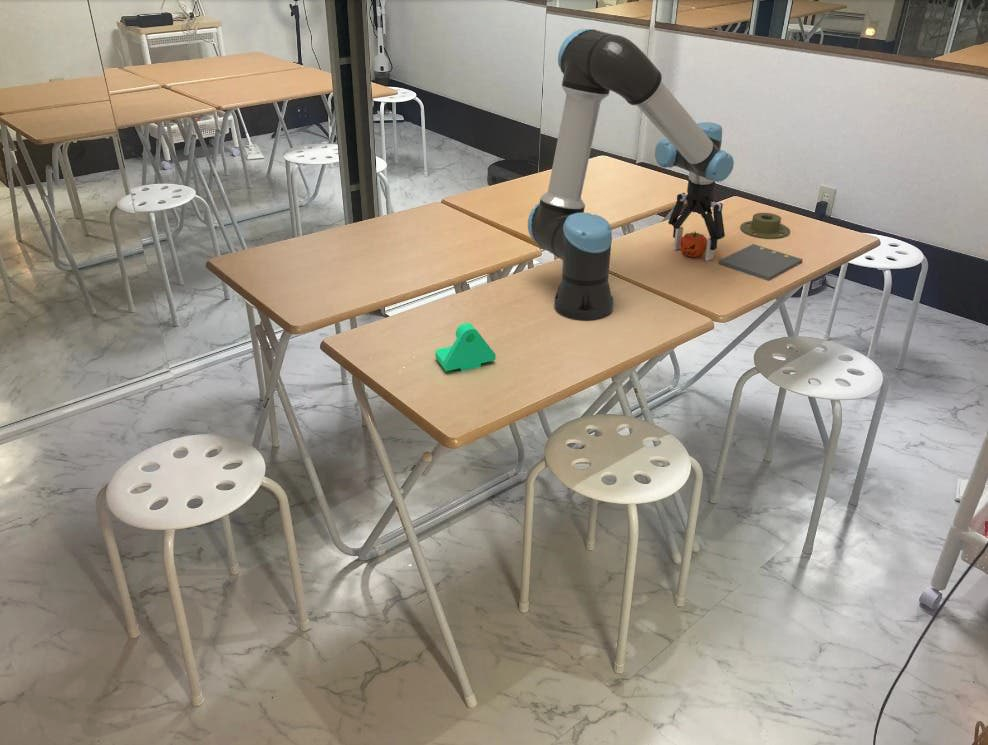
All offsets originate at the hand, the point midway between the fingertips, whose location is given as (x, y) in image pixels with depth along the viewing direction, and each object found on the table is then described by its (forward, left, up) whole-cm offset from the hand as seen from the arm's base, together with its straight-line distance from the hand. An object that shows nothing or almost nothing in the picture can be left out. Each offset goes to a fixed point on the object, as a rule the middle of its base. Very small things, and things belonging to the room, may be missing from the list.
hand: (692, 254), depth 234 cm
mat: (+9, -17, 0) cm, 19 cm away
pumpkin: (0, 0, 0) cm, 0 cm away
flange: (+33, -4, -1) cm, 33 cm away
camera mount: (-89, -1, -1) cm, 90 cm away
